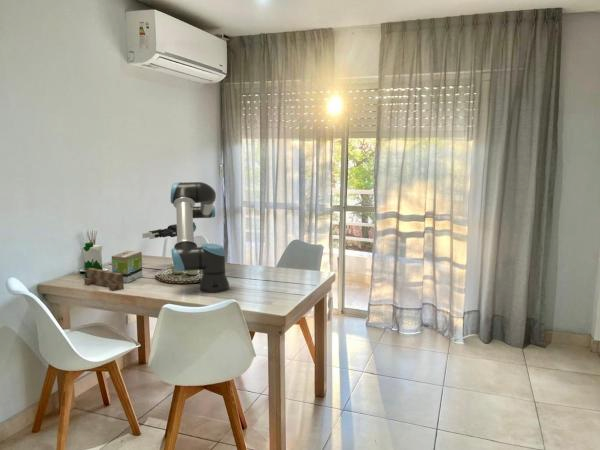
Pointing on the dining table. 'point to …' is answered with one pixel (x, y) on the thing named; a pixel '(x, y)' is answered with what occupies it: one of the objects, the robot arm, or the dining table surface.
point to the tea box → (128, 265)
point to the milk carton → (92, 256)
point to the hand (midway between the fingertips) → (146, 236)
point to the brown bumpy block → (104, 279)
